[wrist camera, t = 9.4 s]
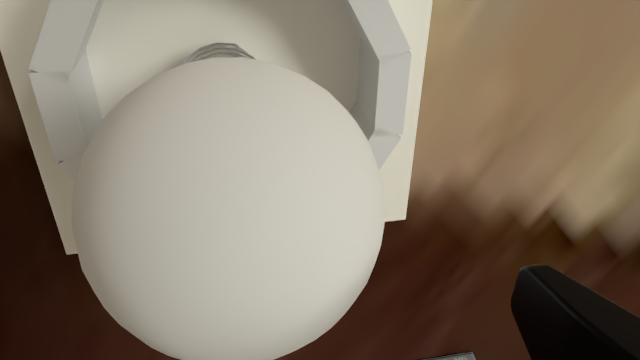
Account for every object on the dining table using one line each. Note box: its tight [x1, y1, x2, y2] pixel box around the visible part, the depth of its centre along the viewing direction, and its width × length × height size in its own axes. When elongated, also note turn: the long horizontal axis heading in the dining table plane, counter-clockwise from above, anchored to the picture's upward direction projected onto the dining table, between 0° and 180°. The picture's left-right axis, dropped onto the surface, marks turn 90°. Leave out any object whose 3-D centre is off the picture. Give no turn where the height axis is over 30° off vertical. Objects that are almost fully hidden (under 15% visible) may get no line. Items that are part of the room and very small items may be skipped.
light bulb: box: [72, 42, 384, 360], centre depth 13 cm, size 7×7×11 cm
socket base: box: [0, 0, 433, 255], centre depth 18 cm, size 14×14×4 cm
